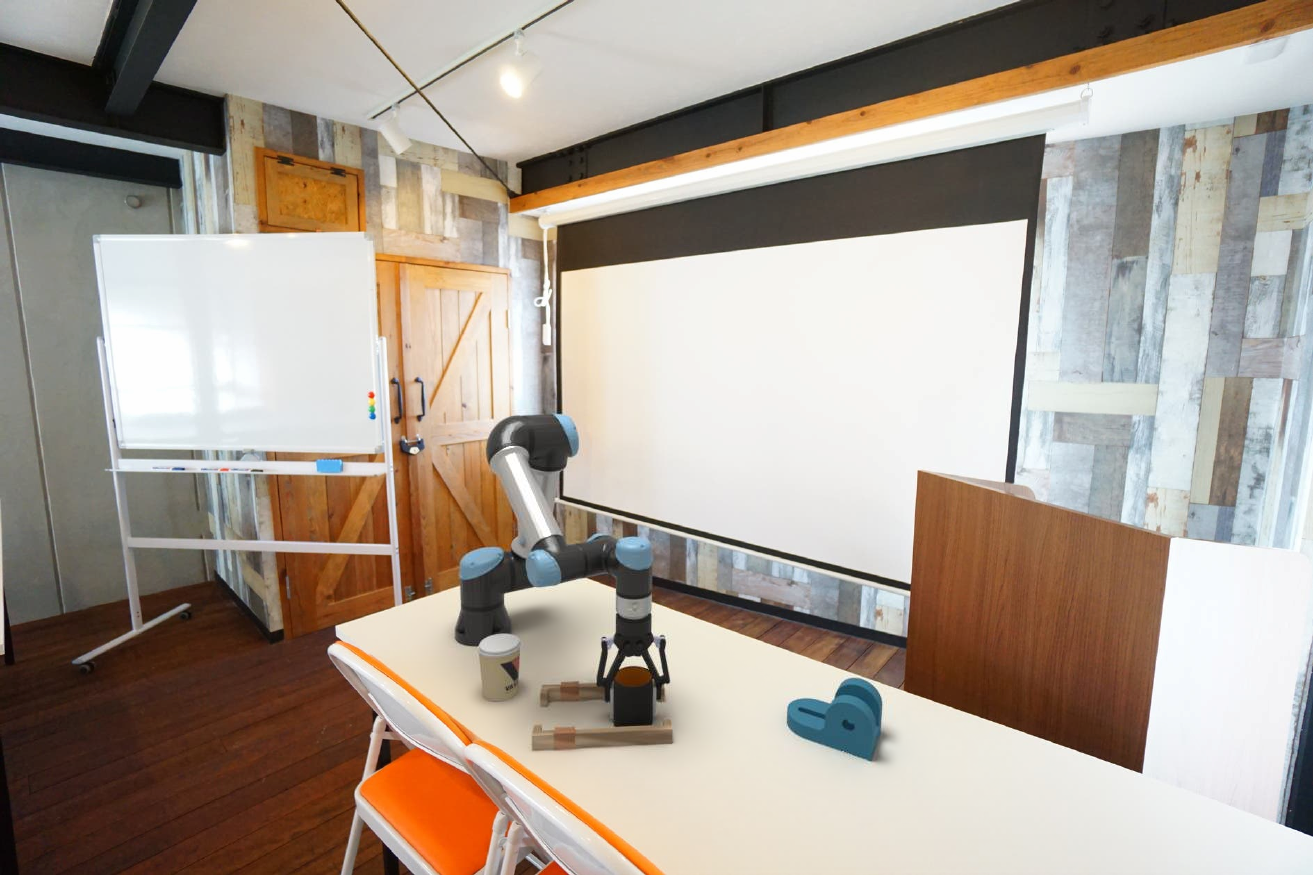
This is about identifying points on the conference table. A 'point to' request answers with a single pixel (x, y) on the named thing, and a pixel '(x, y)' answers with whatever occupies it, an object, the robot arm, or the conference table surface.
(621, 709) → the mug
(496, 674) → the coffee cup
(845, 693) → the camera mount
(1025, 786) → the conference table surface
